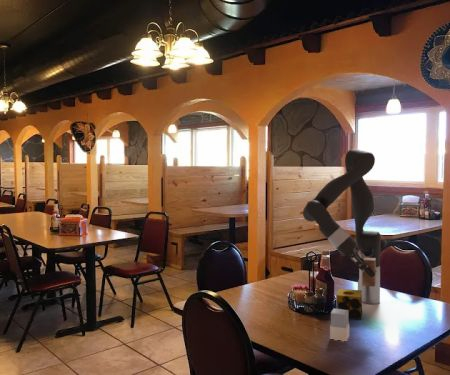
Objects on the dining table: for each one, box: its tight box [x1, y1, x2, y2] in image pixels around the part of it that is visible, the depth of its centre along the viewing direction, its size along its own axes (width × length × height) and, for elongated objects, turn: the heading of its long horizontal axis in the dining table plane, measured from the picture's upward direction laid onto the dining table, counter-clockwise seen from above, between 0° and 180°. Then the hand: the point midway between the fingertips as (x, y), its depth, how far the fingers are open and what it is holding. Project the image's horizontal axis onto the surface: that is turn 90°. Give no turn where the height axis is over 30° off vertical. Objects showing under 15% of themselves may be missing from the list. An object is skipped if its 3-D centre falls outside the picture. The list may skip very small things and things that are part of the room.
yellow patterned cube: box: [336, 288, 363, 321], centre depth 186 cm, size 10×10×10 cm
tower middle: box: [330, 308, 349, 328], centre depth 161 cm, size 6×6×5 cm
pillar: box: [362, 258, 376, 287], centre depth 167 cm, size 4×4×10 cm
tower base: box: [329, 322, 350, 342], centre depth 162 cm, size 6×6×5 cm
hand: (374, 274), depth 166 cm, fingers closed on pillar, 4 cm apart
